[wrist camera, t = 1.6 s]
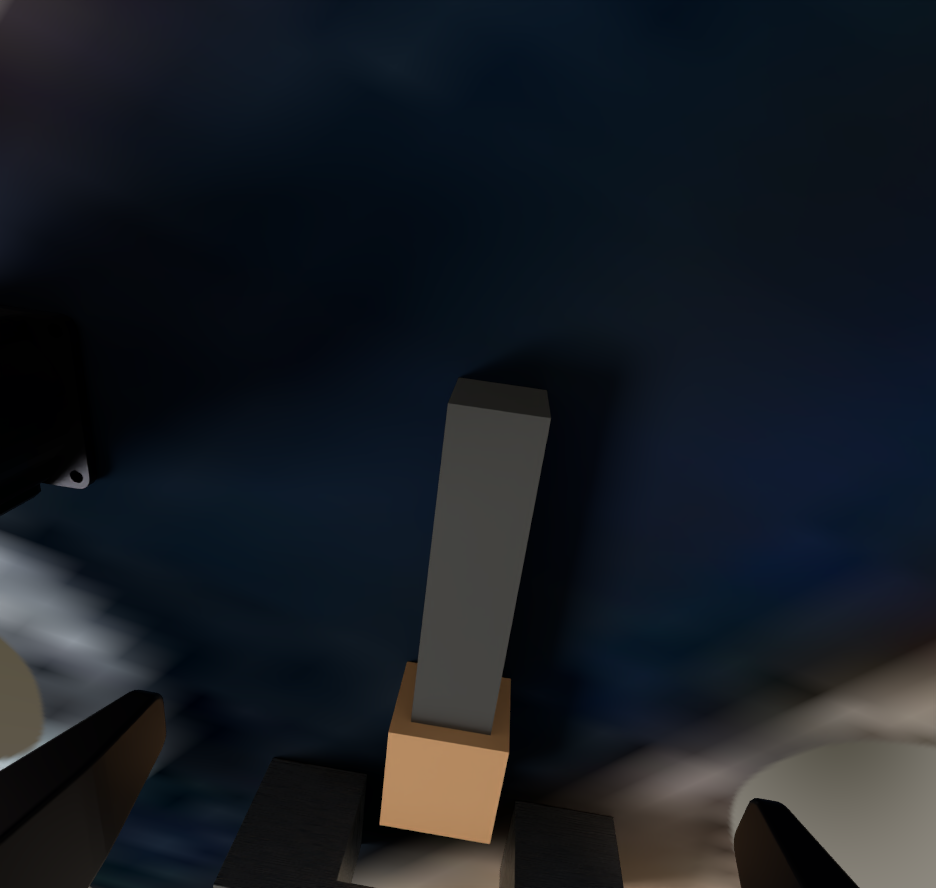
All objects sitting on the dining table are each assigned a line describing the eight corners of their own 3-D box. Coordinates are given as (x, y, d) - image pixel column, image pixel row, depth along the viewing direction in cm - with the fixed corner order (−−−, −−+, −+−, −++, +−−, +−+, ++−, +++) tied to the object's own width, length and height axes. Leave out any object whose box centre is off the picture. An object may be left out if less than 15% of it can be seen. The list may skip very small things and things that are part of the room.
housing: (273, 758, 27) (213, 885, 21) (612, 817, 26) (634, 963, 21) (273, 828, 28) (218, 961, 23) (590, 886, 28) (605, 1035, 23)
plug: (438, 374, 19) (420, 405, 16) (567, 392, 19) (577, 428, 16) (395, 765, 26) (377, 844, 23) (490, 781, 26) (485, 863, 23)
